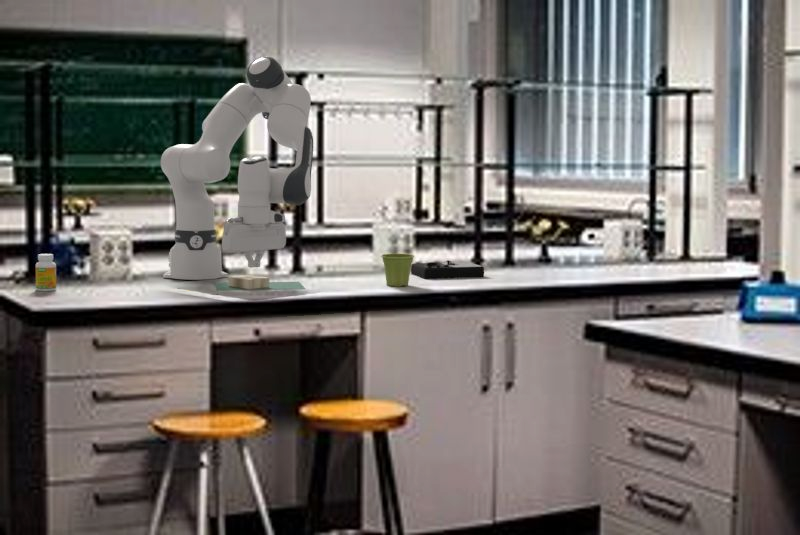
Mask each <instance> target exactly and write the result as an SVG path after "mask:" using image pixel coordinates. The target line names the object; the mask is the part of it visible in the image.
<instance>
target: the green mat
mask: <svg viewBox="0 0 800 535" xmlns="http://www.w3.org/2000/svg"><path fill="white" fill-rule="evenodd" d="M213 286H214V288H215V290H216V291H266V290H267V291H268V290H269V291H270V290H271V291H273V290H274V291H279V290H282V291H283V290H284V291H285V290H291V291H292V290H306V288H305V287H304V285H303V284H302V283H301V282H300V281H269V287H267V288H260V289H251V290H249V289H242V288H236V287H230V286H228V281H227V282H226V281H225V282H224V281H223V282H213ZM216 295H217V296H219V294H216Z"/></svg>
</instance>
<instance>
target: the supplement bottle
mask: <svg viewBox="0 0 800 535" xmlns="http://www.w3.org/2000/svg"><path fill="white" fill-rule="evenodd" d="M37 260H38V262H36V264H35V290H36V291H37V292H53V291H56V290H57V264H56V262H54V261H53V260H54V254H53V253H40V254H37Z"/></svg>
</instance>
